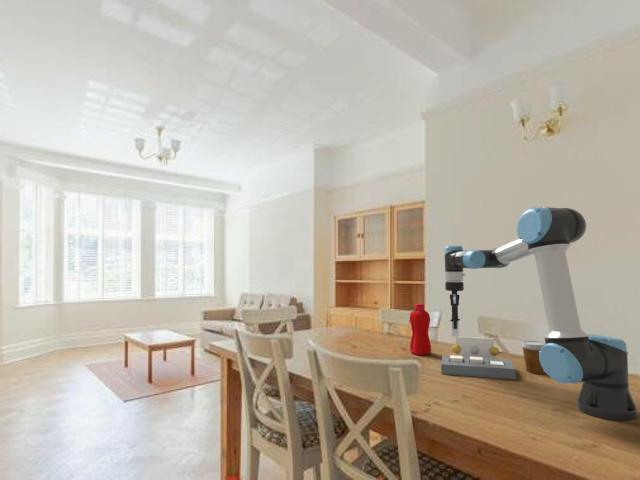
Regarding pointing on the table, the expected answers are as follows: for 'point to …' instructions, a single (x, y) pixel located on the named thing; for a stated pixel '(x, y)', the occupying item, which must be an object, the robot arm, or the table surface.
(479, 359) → the button middle
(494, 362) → the button right
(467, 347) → the pattern sign
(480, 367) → the button board
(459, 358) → the button left
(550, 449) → the table surface
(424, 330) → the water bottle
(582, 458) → the table surface
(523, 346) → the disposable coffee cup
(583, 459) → the table surface
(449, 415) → the table surface
